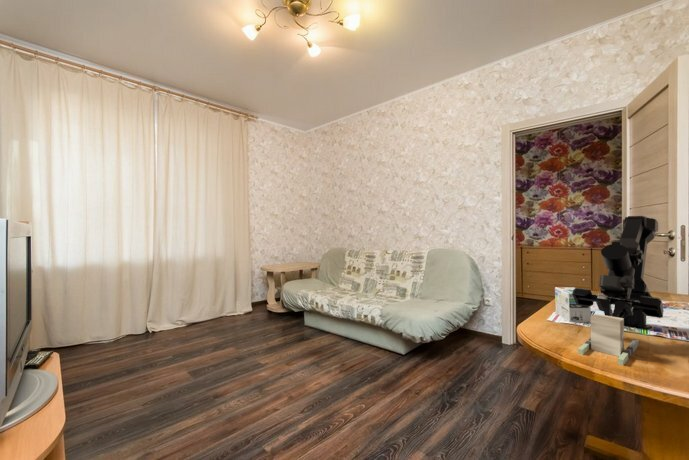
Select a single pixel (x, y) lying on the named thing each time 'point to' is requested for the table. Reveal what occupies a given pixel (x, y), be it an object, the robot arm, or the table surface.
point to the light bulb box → (570, 306)
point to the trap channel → (623, 356)
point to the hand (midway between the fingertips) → (609, 327)
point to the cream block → (607, 334)
